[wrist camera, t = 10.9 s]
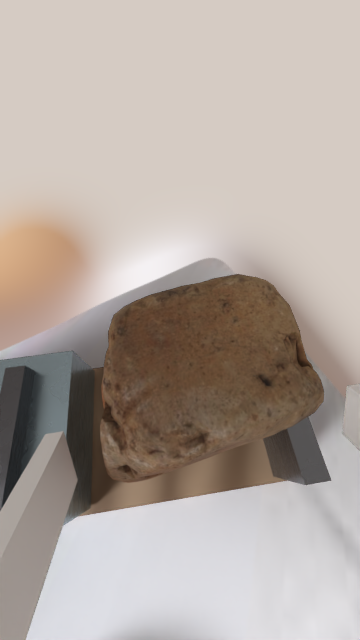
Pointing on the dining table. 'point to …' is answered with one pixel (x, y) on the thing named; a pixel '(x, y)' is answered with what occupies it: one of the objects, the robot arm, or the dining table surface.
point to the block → (201, 375)
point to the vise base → (210, 467)
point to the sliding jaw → (46, 418)
